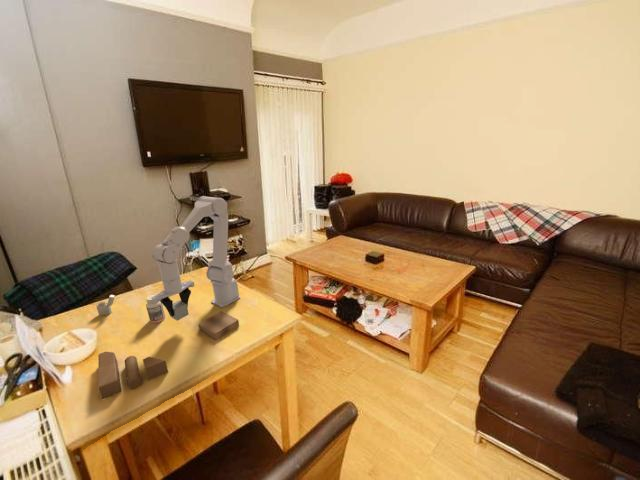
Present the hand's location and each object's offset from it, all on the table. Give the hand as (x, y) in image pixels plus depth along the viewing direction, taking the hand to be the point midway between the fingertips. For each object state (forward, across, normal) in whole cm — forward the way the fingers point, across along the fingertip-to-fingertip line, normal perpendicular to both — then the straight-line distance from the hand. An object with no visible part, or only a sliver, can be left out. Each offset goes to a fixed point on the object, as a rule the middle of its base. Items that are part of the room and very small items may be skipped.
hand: (178, 311), depth 114 cm
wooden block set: (+8, +20, +6) cm, 23 cm away
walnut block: (+8, -8, +11) cm, 16 cm away
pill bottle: (+8, +2, -14) cm, 16 cm away
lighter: (+8, +11, -35) cm, 37 cm away
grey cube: (+2, 0, 0) cm, 2 cm away
